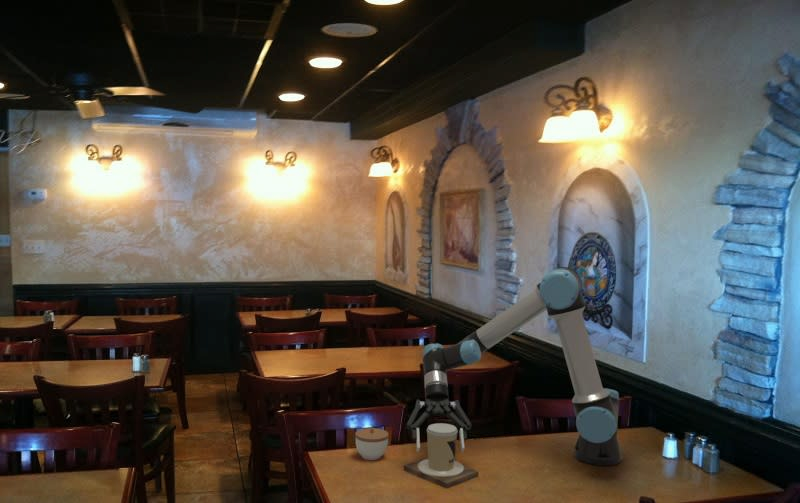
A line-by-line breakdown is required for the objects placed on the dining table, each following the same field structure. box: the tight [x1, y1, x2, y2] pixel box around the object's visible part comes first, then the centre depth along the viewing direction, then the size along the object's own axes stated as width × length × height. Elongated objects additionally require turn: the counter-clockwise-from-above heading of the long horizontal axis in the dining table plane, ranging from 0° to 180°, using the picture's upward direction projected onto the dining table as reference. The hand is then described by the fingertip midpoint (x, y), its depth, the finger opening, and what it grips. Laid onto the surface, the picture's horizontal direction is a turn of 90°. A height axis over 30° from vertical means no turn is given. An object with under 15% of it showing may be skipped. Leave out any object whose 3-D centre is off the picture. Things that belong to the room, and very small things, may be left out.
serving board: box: [403, 457, 479, 489], centre depth 213 cm, size 18×14×2 cm
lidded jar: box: [354, 427, 389, 461], centre depth 225 cm, size 11×11×9 cm
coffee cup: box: [426, 422, 459, 471], centre depth 213 cm, size 9×9×12 cm
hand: (440, 449), depth 213 cm, fingers open, 13 cm apart
